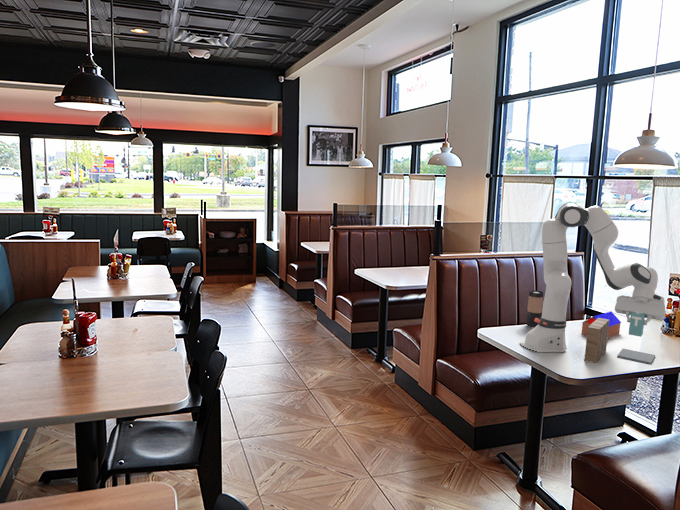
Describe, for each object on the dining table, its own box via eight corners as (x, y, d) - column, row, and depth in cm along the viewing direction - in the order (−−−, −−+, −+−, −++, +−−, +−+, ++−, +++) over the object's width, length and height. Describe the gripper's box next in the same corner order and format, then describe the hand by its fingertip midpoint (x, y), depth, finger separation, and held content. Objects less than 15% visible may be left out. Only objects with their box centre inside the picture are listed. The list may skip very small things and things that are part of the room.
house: (620, 334, 286) (622, 313, 284) (602, 340, 274) (604, 318, 272) (598, 328, 295) (600, 308, 293) (580, 334, 283) (582, 313, 281)
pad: (650, 364, 239) (651, 362, 239) (617, 357, 247) (617, 355, 247) (655, 356, 250) (655, 354, 250) (622, 349, 258) (622, 348, 258)
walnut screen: (595, 362, 238) (599, 329, 236) (584, 360, 241) (587, 327, 239) (605, 351, 255) (609, 319, 253) (594, 348, 258) (598, 317, 256)
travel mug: (541, 328, 291) (544, 293, 288) (527, 327, 292) (530, 292, 289) (539, 324, 298) (542, 290, 295) (525, 323, 300) (528, 289, 297)
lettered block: (640, 336, 233) (643, 314, 232) (628, 334, 236) (631, 312, 235) (642, 334, 237) (645, 312, 236) (630, 332, 240) (632, 310, 239)
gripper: (617, 291, 246) (611, 315, 240) (668, 298, 234) (662, 323, 227) (618, 298, 250) (611, 322, 244) (667, 306, 238) (662, 331, 232)
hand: (636, 323), depth 236 cm, fingers closed on lettered block, 5 cm apart
